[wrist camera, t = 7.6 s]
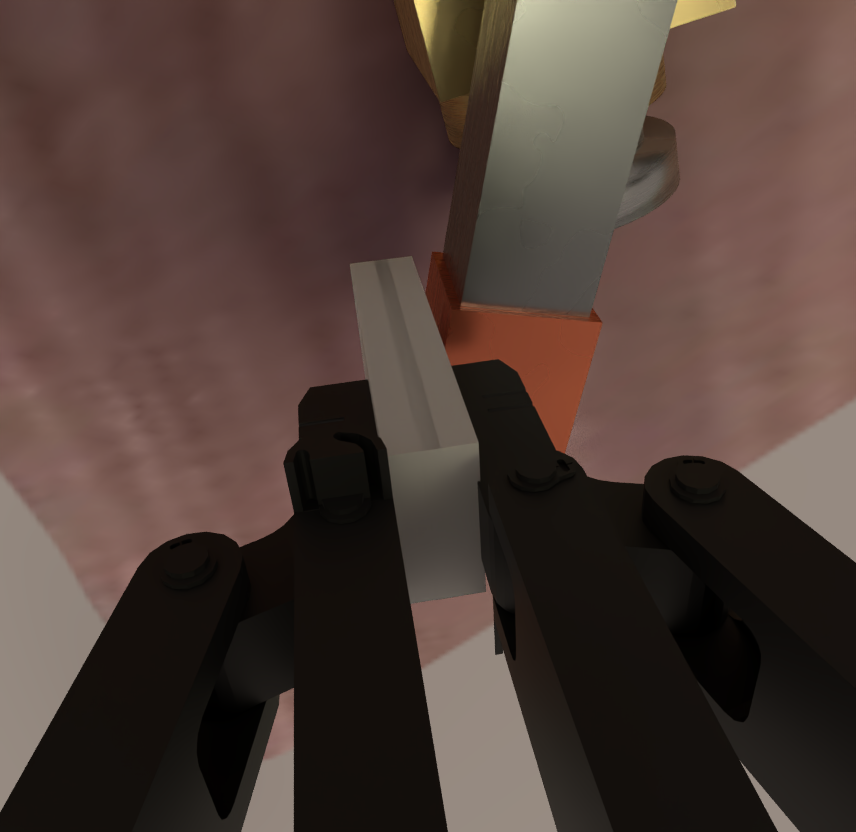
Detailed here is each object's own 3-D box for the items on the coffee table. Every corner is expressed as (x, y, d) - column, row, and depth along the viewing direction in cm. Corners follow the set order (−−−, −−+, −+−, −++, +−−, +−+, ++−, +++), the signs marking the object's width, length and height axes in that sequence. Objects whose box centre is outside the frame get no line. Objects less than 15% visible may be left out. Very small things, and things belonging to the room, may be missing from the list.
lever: (497, -312, 12) (550, -373, 9) (714, -261, 13) (820, -306, 10) (390, 424, 19) (402, 509, 16) (534, 432, 20) (568, 515, 17)
